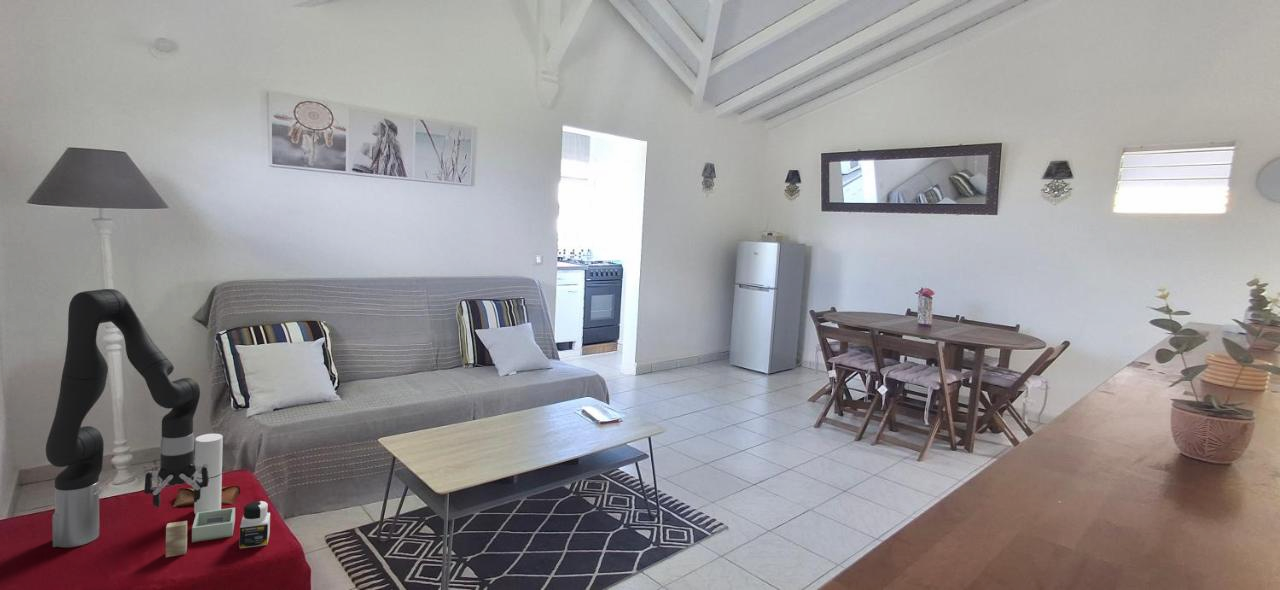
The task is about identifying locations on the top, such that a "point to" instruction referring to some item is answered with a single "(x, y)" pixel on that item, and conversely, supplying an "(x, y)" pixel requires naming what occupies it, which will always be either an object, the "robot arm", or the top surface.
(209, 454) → the cylindrical container
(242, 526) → the medicine bottle
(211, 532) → the open box
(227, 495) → the sunglasses case
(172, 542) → the beige wooden block
